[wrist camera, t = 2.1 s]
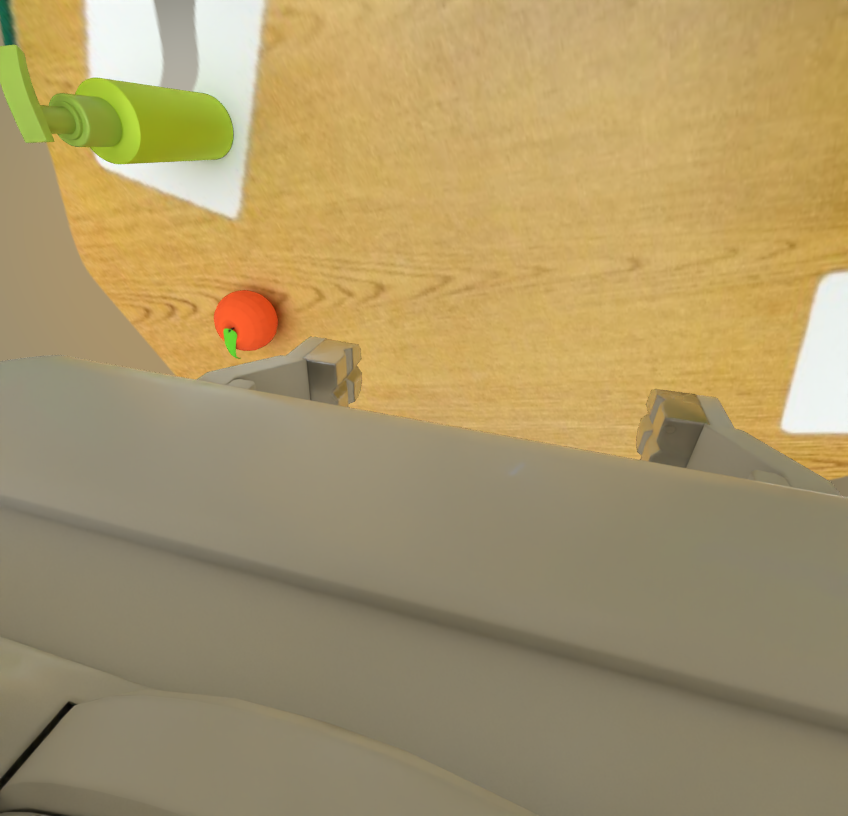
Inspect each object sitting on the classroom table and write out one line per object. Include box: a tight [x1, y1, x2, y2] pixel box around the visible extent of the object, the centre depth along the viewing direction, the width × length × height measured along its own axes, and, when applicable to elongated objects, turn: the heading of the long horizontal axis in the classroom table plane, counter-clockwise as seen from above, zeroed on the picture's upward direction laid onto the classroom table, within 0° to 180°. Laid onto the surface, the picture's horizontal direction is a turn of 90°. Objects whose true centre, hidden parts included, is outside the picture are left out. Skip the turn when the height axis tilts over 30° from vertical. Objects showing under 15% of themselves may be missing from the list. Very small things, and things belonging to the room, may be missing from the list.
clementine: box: [214, 290, 278, 359], centre depth 55 cm, size 8×7×7 cm
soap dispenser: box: [0, 45, 233, 164], centre depth 40 cm, size 6×7×20 cm
